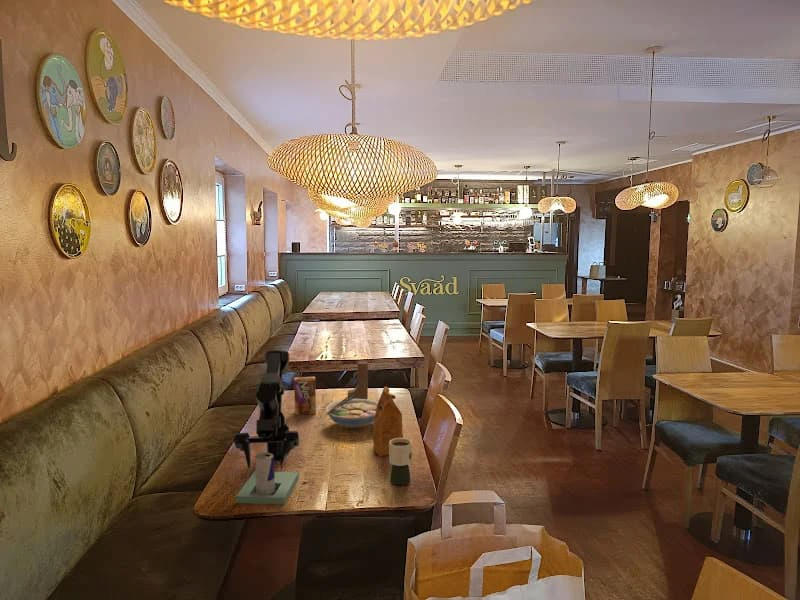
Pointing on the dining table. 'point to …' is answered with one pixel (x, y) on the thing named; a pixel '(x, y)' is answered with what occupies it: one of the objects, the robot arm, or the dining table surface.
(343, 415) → the ramen bowl
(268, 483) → the energy drink
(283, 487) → the socket board
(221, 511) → the dining table surface
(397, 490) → the dining table surface
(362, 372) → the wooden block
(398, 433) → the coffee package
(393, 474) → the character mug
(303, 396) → the candy box
